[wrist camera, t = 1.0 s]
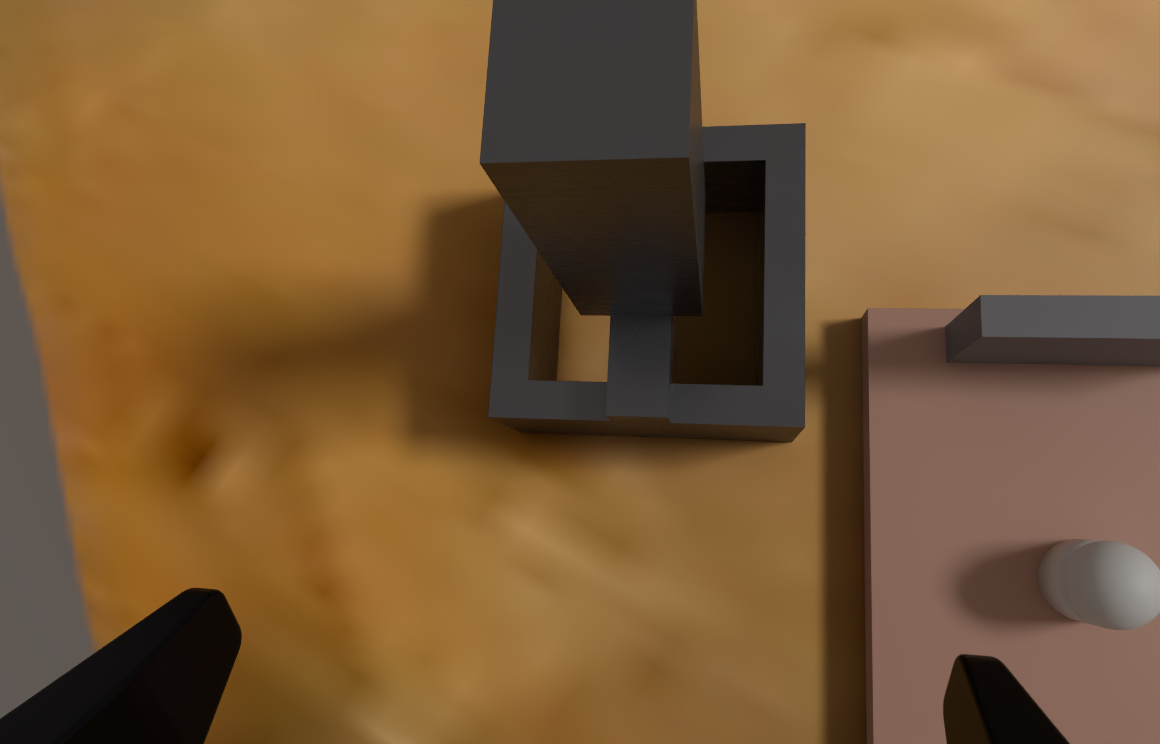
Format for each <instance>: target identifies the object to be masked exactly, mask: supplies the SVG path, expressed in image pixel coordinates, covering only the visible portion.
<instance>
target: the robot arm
mask: <svg viewBox="0 0 1160 744" xmlns="http://www.w3.org/2000/svg"><path fill="white" fill-rule="evenodd" d="M241 638H242V634H241V629H240V626H239V624H238V622H237V620H236V618H235V616H234V614H233V612H232V610H231V607H230V605H229V603H228V601H227V599H226V597H225V596H224V594H223V593H222V592H220V591H219V590H215V589H204V588H191V589H188V590H185V591H184V592H182V593H180V594H179V595H177V596H176V597H175V598H173V599H172V600H170V601H169V602H167V603H166V604H165V605H163V606H162V607H160V608H159V609H157V610H156V611H154V612H153V613H152V614H150V615H149V616H147V617H146V618H144V619H143V620H142V621H140V622H139V623H137V624H136V625H134V626H133V627H131V628H130V629H129V630H127V631H126V632H124V633H123V634H121V635H120V636H119V637H117V638H116V639H114V640H113V641H111V642H110V643H108V644H107V645H106V646H104V647H103V648H101V649H100V650H98V651H97V652H96V653H94V654H93V655H91V656H90V657H88V658H87V659H86V660H84V661H83V662H81V663H80V664H78V665H77V666H75V667H74V668H73V669H71V670H70V671H68V672H67V673H65V674H64V675H63V676H61V677H60V678H58V679H57V680H55V681H54V682H53V683H51V684H50V685H48V686H47V687H45V688H44V689H42V690H41V691H40V692H38V693H37V694H35V695H34V696H32V697H31V698H29V699H28V700H27V701H25V702H24V703H23V704H21V705H20V706H18V707H17V708H15V709H14V710H12V711H11V712H9V713H8V714H7V715H5V716H4V717H2V718H1V719H0V744H204V742H205V739H206V737H207V734H208V731H209V729H210V726H211V724H212V721H213V718H214V716H215V713H216V710H217V708H218V705H219V702H220V700H221V697H222V694H223V692H224V689H225V686H226V684H227V681H228V679H229V676H230V673H231V671H232V668H233V665H234V663H235V660H236V657H237V655H238V652H239V649H240V645H241ZM943 718H944V727H945V734H946V742H947V744H1070V743H1069V742H1068V741H1067V739H1066V738H1065V737H1064V736H1063V735H1062V733H1061V732H1060V731H1059V730H1058V728H1057V727H1056V726H1055V725H1054V724H1053V722H1052V721H1051V720H1050V719H1049V718H1048V716H1047V715H1046V714H1045V713H1044V712H1043V710H1042V709H1041V708H1040V707H1039V705H1038V704H1037V703H1036V702H1035V701H1034V699H1033V698H1032V697H1031V696H1030V695H1029V693H1028V692H1027V691H1026V690H1025V689H1024V687H1023V686H1022V685H1021V684H1020V682H1019V681H1018V680H1017V679H1016V678H1015V676H1014V675H1013V674H1012V673H1011V672H1010V670H1009V669H1008V668H1007V667H1006V666H1005V664H1004V663H1003V662H1002V661H1000V660H999V659H997V658H995V657H992V656H983V655H972V654H960V655H959V656H957V657H956V659H955V661H954V664H953V668H952V671H951V674H950V678H949V681H948V685H947V688H946V692H945V695H944V700H943Z"/></svg>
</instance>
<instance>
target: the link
mask: <svg viewBox="0 0 1160 744" xmlns="http://www.w3.org/2000/svg"><path fill="white" fill-rule="evenodd" d="M480 164H481V166H482V167H483V169H484V170H485V172H486V173H487V175H488V176H489V178H490V179H491V181H492V182H493V184H494V185H495V187H496V188H497V190H498V191H499V193H500V194H501V196H502V197H503V199H504V200H505V203H504V217H503V230H502V243H501V256H500V269H499V282H498V295H497V309H496V322H495V335H494V348H493V361H492V374H491V387H490V401H489V414H488V417H489V418H491V419H494V420H496V421H498V422H500V423H502V424H504V425H506V426H509V427H511V428H513V429H515V430H517V431H519V432H525V433H553V434H581V435H609V436H637V437H665V438H693V439H721V440H749V441H777V442H793V440H794V439H795V438H796V437H797V436H798V435H799V433H800V432H801V431H802V430H803V429H804V428H805V123H800V124H771V125H743V126H714V127H702V109H701V87H700V66H699V44H698V22H697V0H493V9H492V21H491V33H490V45H489V57H488V69H487V81H486V93H485V105H484V117H483V129H482V141H481V153H480ZM707 212H759V280H758V356H757V386H751V385H708V384H672V366H673V336H674V316H703V281H704V243H705V213H707ZM562 288H563V289H564V291H565V292H566V294H567V295H568V297H569V298H570V300H571V301H572V303H573V304H574V306H575V307H576V309H577V310H578V312H579V313H580V315H606V316H611V318H610V339H609V359H608V380H607V382H580V381H556V379H557V363H558V346H559V330H560V313H561V297H562Z"/></svg>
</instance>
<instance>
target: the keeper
mask: <svg viewBox="0 0 1160 744" xmlns="http://www.w3.org/2000/svg"><path fill="white" fill-rule="evenodd" d="M862 393H863V479H864V566H865V652H866V738H867V744H947V742H946V734H945V727H944V718H943V700H944V695H945V692H946V688H947V685H948V681H949V678H950V674H951V671H952V668H953V664H954V661H955V659H956V657H957V656H959V655H960V654H972V655H983V656H992V657H995V658H997V659H999V660H1000V661H1002V662H1003V663H1004V664H1005V666H1006V667H1007V668H1008V669H1009V670H1010V672H1011V673H1012V674H1013V675H1014V676H1015V678H1016V679H1017V680H1018V681H1019V682H1020V684H1021V685H1022V686H1023V687H1024V689H1025V690H1026V691H1027V692H1028V693H1029V695H1030V696H1031V697H1032V698H1033V699H1034V701H1035V702H1036V703H1037V704H1038V705H1039V707H1040V708H1041V709H1042V710H1043V712H1044V713H1045V714H1046V715H1047V716H1048V718H1049V719H1050V720H1051V721H1052V722H1053V724H1054V725H1055V726H1056V727H1057V728H1058V730H1059V731H1060V732H1061V733H1062V735H1063V736H1064V737H1065V738H1066V739H1067V741H1068V742H1069V743H1070V744H1160V296H1044V295H980V296H979V297H978V298H977V299H976V300H975V301H973V302H972V303H971V304H970V305H969V306H968V307H967V308H966V309H896V308H868V309H867V310H866V312H865V313H864V315H863V316H862Z"/></svg>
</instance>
